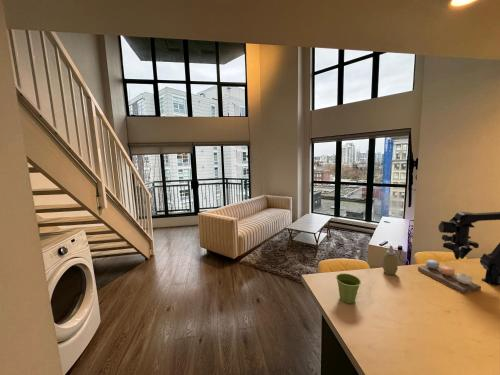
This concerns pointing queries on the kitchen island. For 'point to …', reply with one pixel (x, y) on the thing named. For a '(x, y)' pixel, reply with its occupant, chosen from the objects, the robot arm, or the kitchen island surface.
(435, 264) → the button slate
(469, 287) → the button board
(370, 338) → the kitchen island surface
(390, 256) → the squeeze bottle
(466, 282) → the cream white rounded ball
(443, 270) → the peach rounded lump
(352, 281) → the plant pot
